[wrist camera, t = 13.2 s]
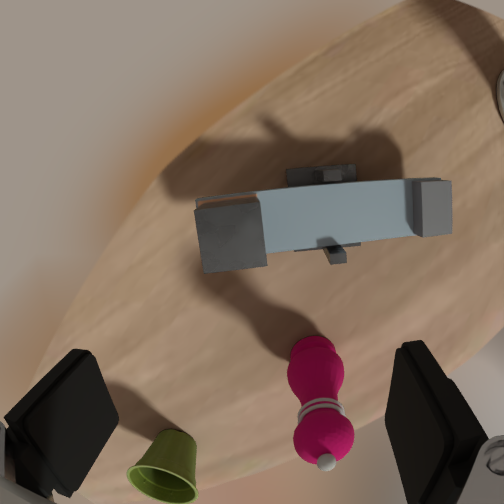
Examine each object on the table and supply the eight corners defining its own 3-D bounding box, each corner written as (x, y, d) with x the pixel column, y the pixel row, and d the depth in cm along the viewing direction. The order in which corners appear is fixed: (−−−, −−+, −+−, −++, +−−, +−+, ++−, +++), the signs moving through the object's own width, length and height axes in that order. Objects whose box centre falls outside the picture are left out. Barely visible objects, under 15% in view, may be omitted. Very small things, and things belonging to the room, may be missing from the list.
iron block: (256, 196, 30) (260, 201, 24) (262, 248, 31) (267, 266, 25) (203, 203, 30) (194, 210, 24) (211, 254, 31) (203, 273, 25)
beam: (433, 177, 31) (451, 178, 28) (435, 229, 33) (452, 235, 29) (197, 198, 31) (192, 201, 28) (206, 256, 33) (201, 266, 29)
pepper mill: (294, 327, 41) (300, 441, 22) (345, 337, 41) (380, 446, 22) (281, 370, 43) (277, 485, 24) (329, 378, 43) (348, 490, 24)
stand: (353, 164, 35) (373, 163, 27) (358, 243, 38) (378, 263, 30) (286, 169, 36) (287, 169, 28) (294, 249, 39) (297, 271, 30)
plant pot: (191, 467, 51) (177, 511, 40) (138, 438, 50) (117, 479, 40) (223, 442, 48) (211, 492, 37) (164, 408, 47) (141, 456, 37)
